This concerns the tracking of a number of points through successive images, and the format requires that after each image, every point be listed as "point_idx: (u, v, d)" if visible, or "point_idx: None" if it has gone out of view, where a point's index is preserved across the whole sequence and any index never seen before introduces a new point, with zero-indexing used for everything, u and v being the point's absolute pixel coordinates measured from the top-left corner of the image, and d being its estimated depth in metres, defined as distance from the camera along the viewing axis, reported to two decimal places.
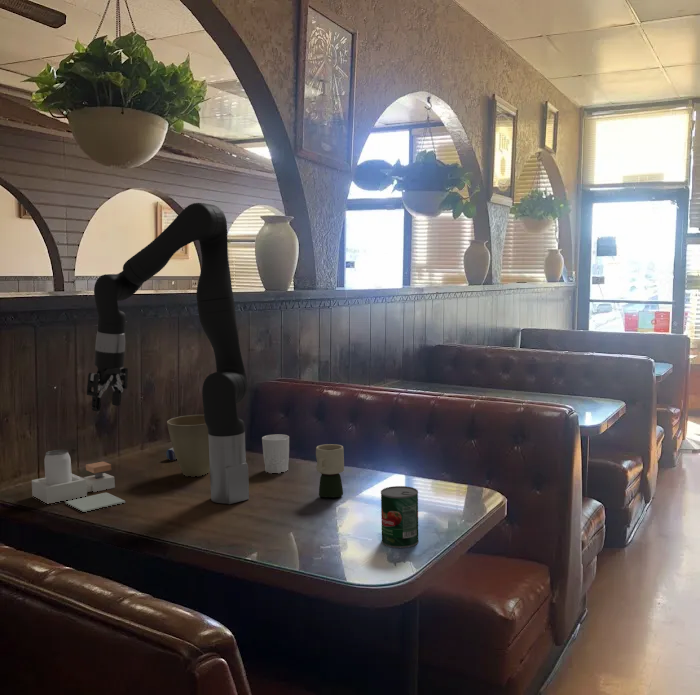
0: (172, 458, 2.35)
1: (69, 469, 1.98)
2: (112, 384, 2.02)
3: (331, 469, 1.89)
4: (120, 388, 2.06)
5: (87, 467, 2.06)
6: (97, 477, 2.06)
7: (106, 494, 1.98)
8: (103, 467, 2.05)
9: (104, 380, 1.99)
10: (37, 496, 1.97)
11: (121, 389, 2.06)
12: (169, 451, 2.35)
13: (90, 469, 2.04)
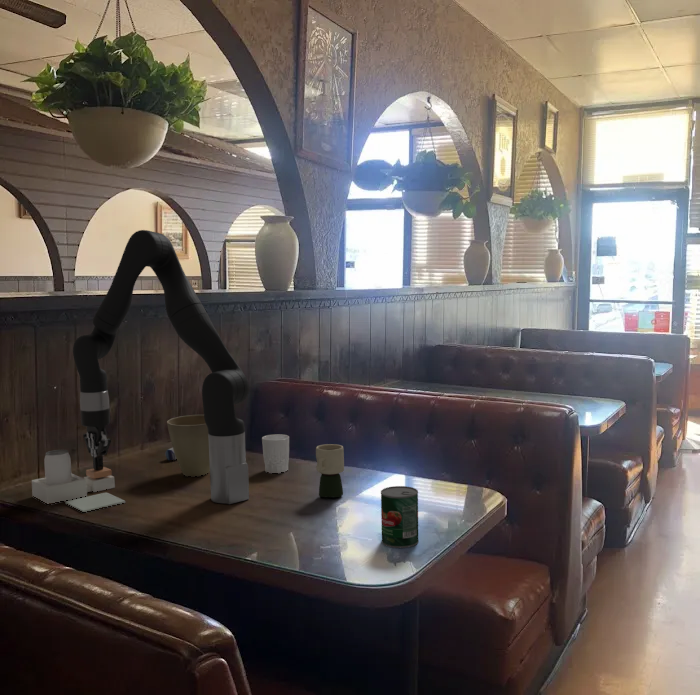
0: (171, 458, 2.35)
1: (69, 469, 1.98)
2: None
3: (331, 469, 1.89)
4: None
5: (87, 472, 2.06)
6: None
7: (106, 494, 1.98)
8: (103, 472, 2.05)
9: None
10: (37, 496, 1.97)
11: None
12: (168, 451, 2.35)
13: (90, 474, 2.05)
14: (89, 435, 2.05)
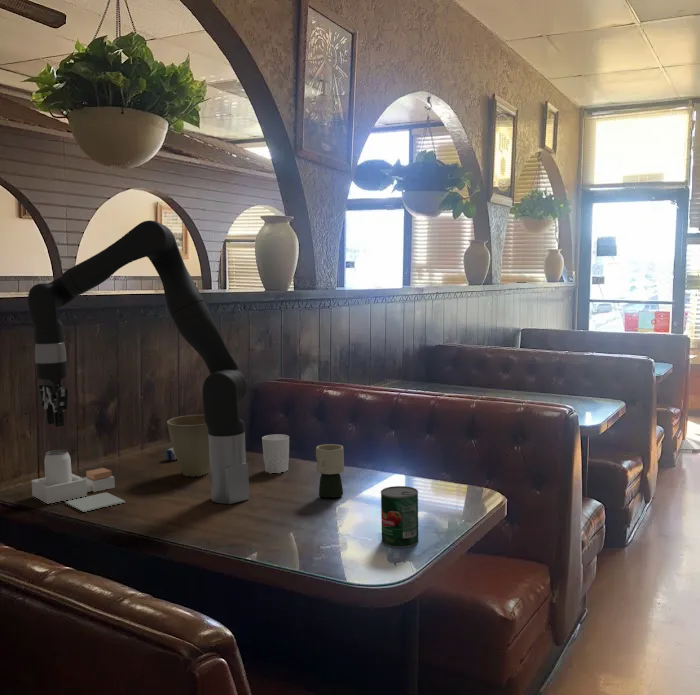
0: (171, 458, 2.35)
1: (69, 469, 1.98)
2: None
3: (331, 469, 1.89)
4: None
5: (87, 474, 2.06)
6: None
7: (106, 494, 1.98)
8: (103, 474, 2.05)
9: None
10: (37, 496, 1.97)
11: None
12: (168, 451, 2.35)
13: (90, 476, 2.05)
14: (45, 390, 1.96)
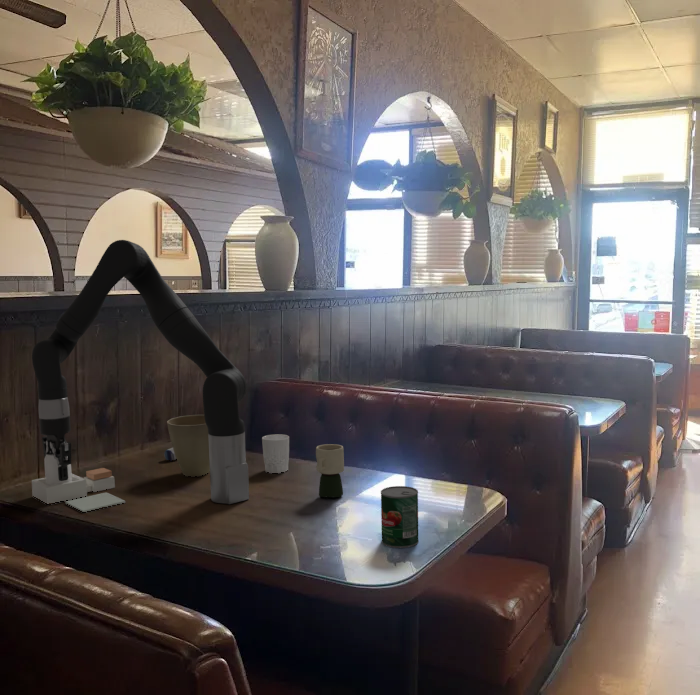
0: (170, 458, 2.34)
1: (69, 469, 1.98)
2: None
3: (331, 469, 1.89)
4: None
5: (87, 474, 2.06)
6: None
7: (106, 494, 1.98)
8: (103, 474, 2.05)
9: None
10: (37, 496, 1.97)
11: None
12: (167, 451, 2.35)
13: (90, 476, 2.05)
14: (48, 445, 1.97)
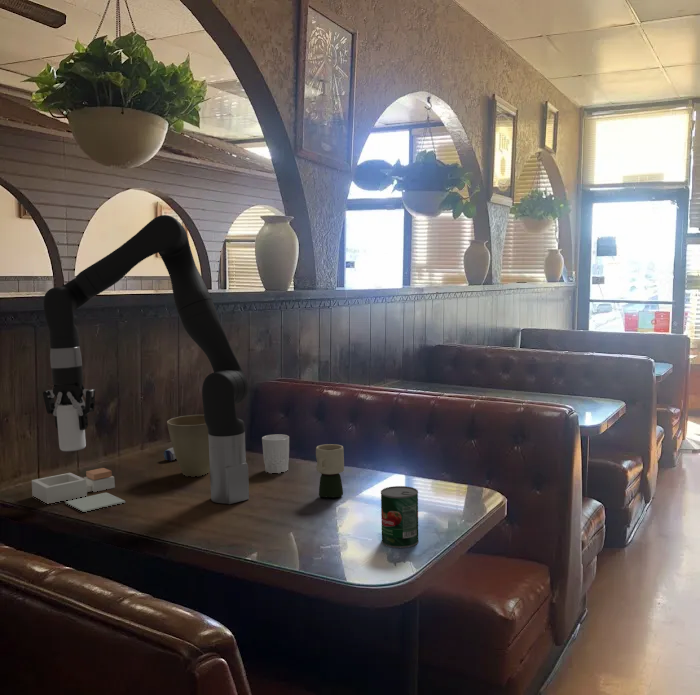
0: (170, 459, 2.34)
1: None
2: None
3: (331, 469, 1.89)
4: None
5: (87, 474, 2.06)
6: None
7: (106, 494, 1.98)
8: (103, 474, 2.05)
9: None
10: (37, 496, 1.97)
11: None
12: (167, 452, 2.34)
13: (90, 476, 2.05)
14: (62, 396, 1.92)
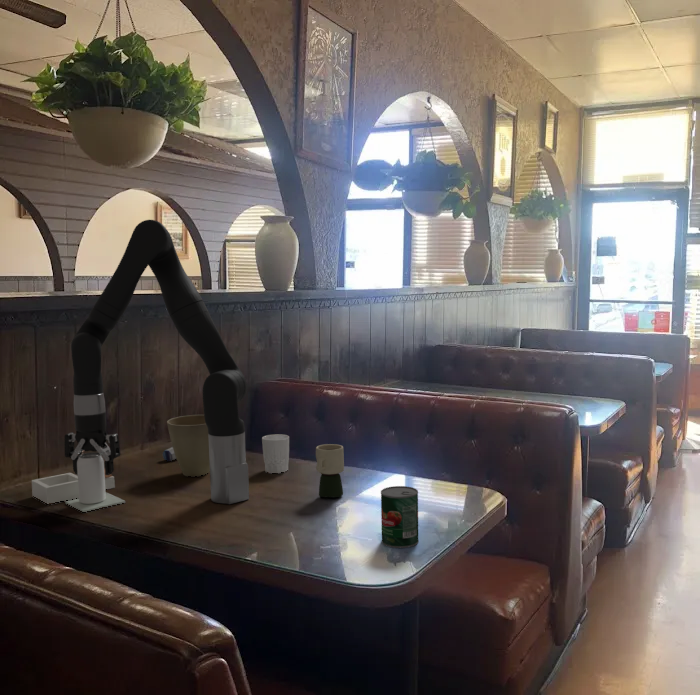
0: (169, 459, 2.34)
1: None
2: None
3: (331, 469, 1.89)
4: None
5: None
6: None
7: (106, 494, 1.98)
8: None
9: None
10: (37, 496, 1.97)
11: None
12: (166, 452, 2.34)
13: None
14: (84, 443, 1.90)
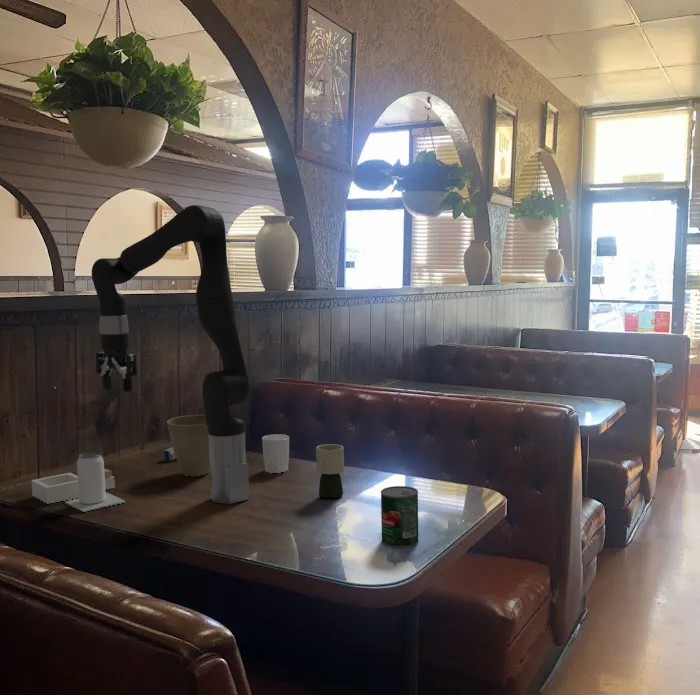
0: (168, 459, 2.34)
1: None
2: None
3: (331, 469, 1.89)
4: None
5: None
6: None
7: (106, 494, 1.98)
8: None
9: None
10: (37, 496, 1.97)
11: None
12: (165, 452, 2.34)
13: None
14: (108, 361, 2.06)
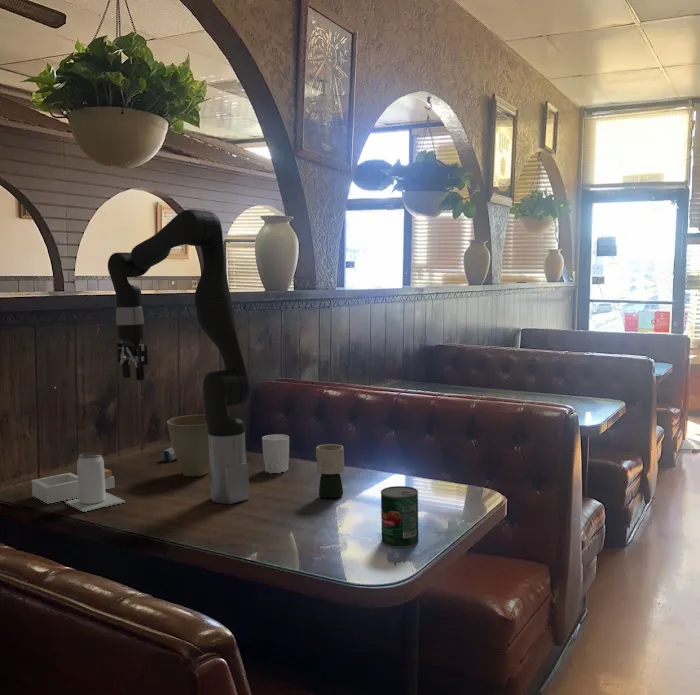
0: (168, 459, 2.34)
1: None
2: None
3: (331, 469, 1.89)
4: None
5: None
6: None
7: (106, 494, 1.98)
8: None
9: None
10: (37, 496, 1.97)
11: None
12: (165, 452, 2.34)
13: None
14: (124, 350, 2.16)
